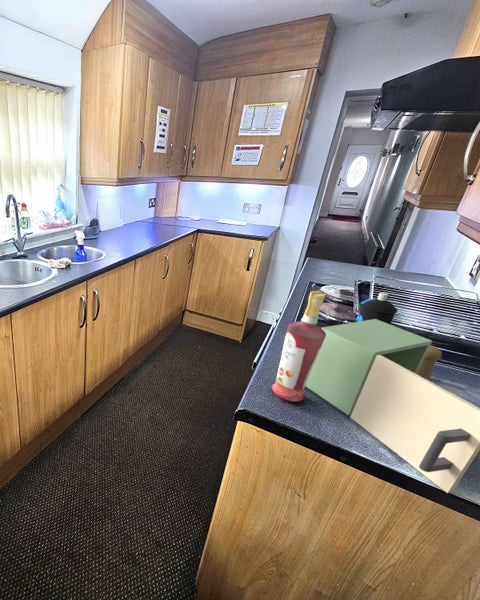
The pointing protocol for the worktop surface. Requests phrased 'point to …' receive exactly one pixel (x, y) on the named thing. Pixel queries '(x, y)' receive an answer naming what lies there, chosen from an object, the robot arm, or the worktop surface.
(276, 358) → the worktop surface
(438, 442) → the door
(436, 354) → the cork
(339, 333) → the cupboard
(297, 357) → the liquor
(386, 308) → the aerosol can
